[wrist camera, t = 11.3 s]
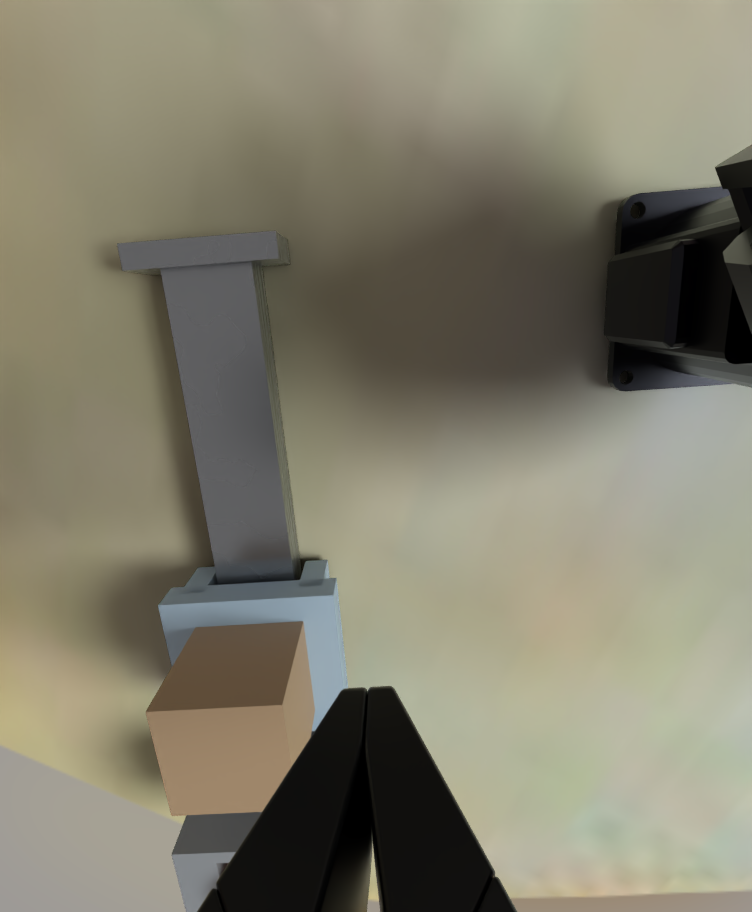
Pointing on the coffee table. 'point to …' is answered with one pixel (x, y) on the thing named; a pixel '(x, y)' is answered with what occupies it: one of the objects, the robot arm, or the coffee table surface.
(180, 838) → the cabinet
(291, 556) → the rail
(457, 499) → the coffee table surface
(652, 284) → the robot arm
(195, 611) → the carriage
